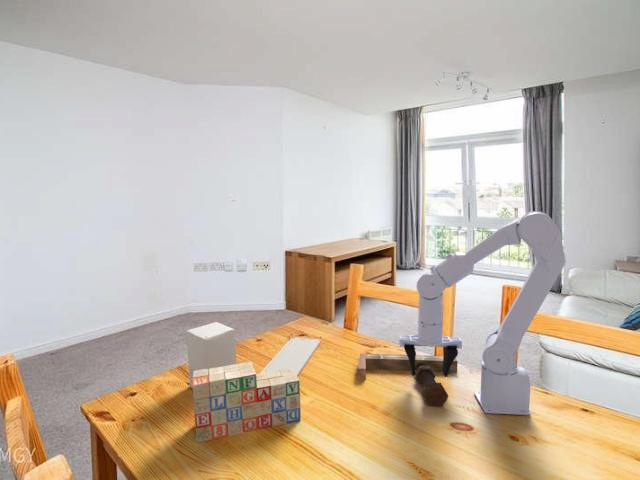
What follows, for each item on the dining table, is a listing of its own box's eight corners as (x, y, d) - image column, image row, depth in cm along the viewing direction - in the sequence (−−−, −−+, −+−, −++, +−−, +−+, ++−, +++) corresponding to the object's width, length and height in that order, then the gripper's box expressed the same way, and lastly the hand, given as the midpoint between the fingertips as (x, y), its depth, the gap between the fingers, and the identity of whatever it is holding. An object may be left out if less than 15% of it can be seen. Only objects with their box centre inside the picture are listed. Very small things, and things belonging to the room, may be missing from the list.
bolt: (423, 381, 97) (439, 412, 83) (407, 372, 97) (419, 401, 83) (434, 362, 97) (452, 391, 82) (418, 353, 97) (432, 380, 82)
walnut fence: (454, 366, 101) (454, 355, 101) (463, 383, 92) (463, 371, 92) (358, 363, 104) (358, 353, 104) (358, 379, 95) (357, 368, 95)
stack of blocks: (294, 405, 84) (292, 354, 82) (301, 421, 78) (299, 367, 77) (196, 424, 78) (192, 369, 76) (195, 443, 72) (191, 384, 70)
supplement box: (239, 385, 93) (236, 328, 91) (207, 400, 87) (203, 339, 85) (220, 373, 99) (217, 320, 98) (188, 386, 93) (185, 330, 91)
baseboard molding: (243, 388, 93) (287, 394, 90) (243, 377, 93) (287, 383, 89) (286, 340, 123) (321, 344, 119) (286, 332, 122) (321, 335, 119)
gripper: (457, 316, 91) (455, 367, 93) (398, 314, 93) (397, 365, 95) (465, 326, 84) (463, 381, 86) (401, 324, 86) (400, 379, 88)
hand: (429, 374), depth 90 cm, fingers open, 7 cm apart
